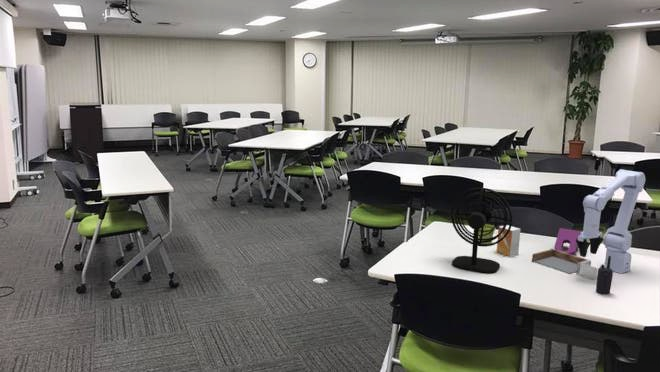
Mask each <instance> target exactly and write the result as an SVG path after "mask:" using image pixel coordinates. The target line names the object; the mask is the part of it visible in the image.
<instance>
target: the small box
mask: <svg viewBox="0 0 660 372" xmlns="http://www.w3.org/2000/svg"><path fill="white" fill-rule="evenodd" d="M509 225H510V224H509ZM509 225H506V228H505V230H504V231H503V232H502V233H501V235H500V236H499V237H498V238H497V241H498V240H500V239H501V238H502V237H503V236H504V235H505V234H506V232H507V231H508V228H509ZM503 226H504V225H500V226H498V230H497V235H498V234H499V233H500V232H501V230H502V228H503ZM521 231H522V228H519V227H515V226H511V229H510V231H509V233H508V234H507V236H506V237H505V238H504V239H503V240H502V241H500V242H499V243H497V244H496V253H499V254H501V255H505V256H507V257H514V256H518V255H519V253H520V252H519V250H520V240H521V239H520V238H521Z"/></svg>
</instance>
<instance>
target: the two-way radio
mask: <svg viewBox="0 0 660 372" xmlns="http://www.w3.org/2000/svg"><path fill="white" fill-rule="evenodd" d="M610 261H611V256H609V257H608V263H607V267H604V265H605V264H601V265H600V266H601V267H598V269H597V278H596V286H595V291H596V293H599V294H610V293H611V289H612V283H613V275H614V274H613V273H614V271H612V269H611V268H610Z"/></svg>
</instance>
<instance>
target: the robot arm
mask: <svg viewBox="0 0 660 372" xmlns="http://www.w3.org/2000/svg"><path fill="white" fill-rule="evenodd" d="M645 183H646V175H645V173H644V172H642V171H633V170H626V169H621V168H620V169H619V170H618V171H616V173H615V177H614V178H613V180H611V182H609V184H608V185H602V186H601V187H600V188H598V190H596V191H595V192H594V193H593V194H588V195H586V196H585V197H584V198H583V201H582V205H583V206H582V207H583V212H584V221H583V228H582V229H583V230H582V231H580V236H578V239H576V243H577V245H578V247H579V248H578V252H579V257H581V258H586V257H587V254H588V250H589V252H590V254H593V255H596V254H597V253H598V251H599V247H600V246H601V244H603V245H604V248H606V251H605V252H606V253H605V258H604V264H603V265H604V267H607V263H608V257H609V256H611V261H610V268H611V269H612V271H613V272H615V273H618V274H624V273H628V272H630V271H631V263H632V254H631V253H630V252H628V251H629V250H630V248H631V247H632V239H633V235H632V233H631V232H630V231H629V230H628V228H629V225H630V222H631V219H632V215H633V212H634V209H635V206H636V203H637V200H638V197H639V195H640V193H642V192H643V189H644V186H645ZM619 189H622V190H623V191H624V195H623V198H622V201H621V203H620V204H621V205H620V207H619V210H618V212H617V216H616V220H615V223H614V225H613V226H612V227H609V228H608V229H607V230H606V232H605V234H604V235H603V231H600V230H599V229H600V220H601V214H602V211H603V210H604V209H605V206H606V205H607V202H608V201H609V200H611V199H612V198H613V197H614V196H615V192H616V191H618V190H619ZM588 240H589V241H588ZM599 268H601V265H600V266H599Z"/></svg>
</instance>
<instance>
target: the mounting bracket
mask: <svg viewBox="0 0 660 372" xmlns="http://www.w3.org/2000/svg"><path fill="white" fill-rule="evenodd" d="M580 232H581V230H575V229H569V228H562V227H559V229H558V233H557V236H556V240H555V243H554V250H558V251H561V252H564V253H568V254H571V255H574V256H575V255H576V254H577V253H576V252H577V251H578V252H579V247H578V245H577V243H576V239H578V236H580V235H581V234H580ZM564 244H569V245H568V249H567V250H562V249H563V247H564Z"/></svg>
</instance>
